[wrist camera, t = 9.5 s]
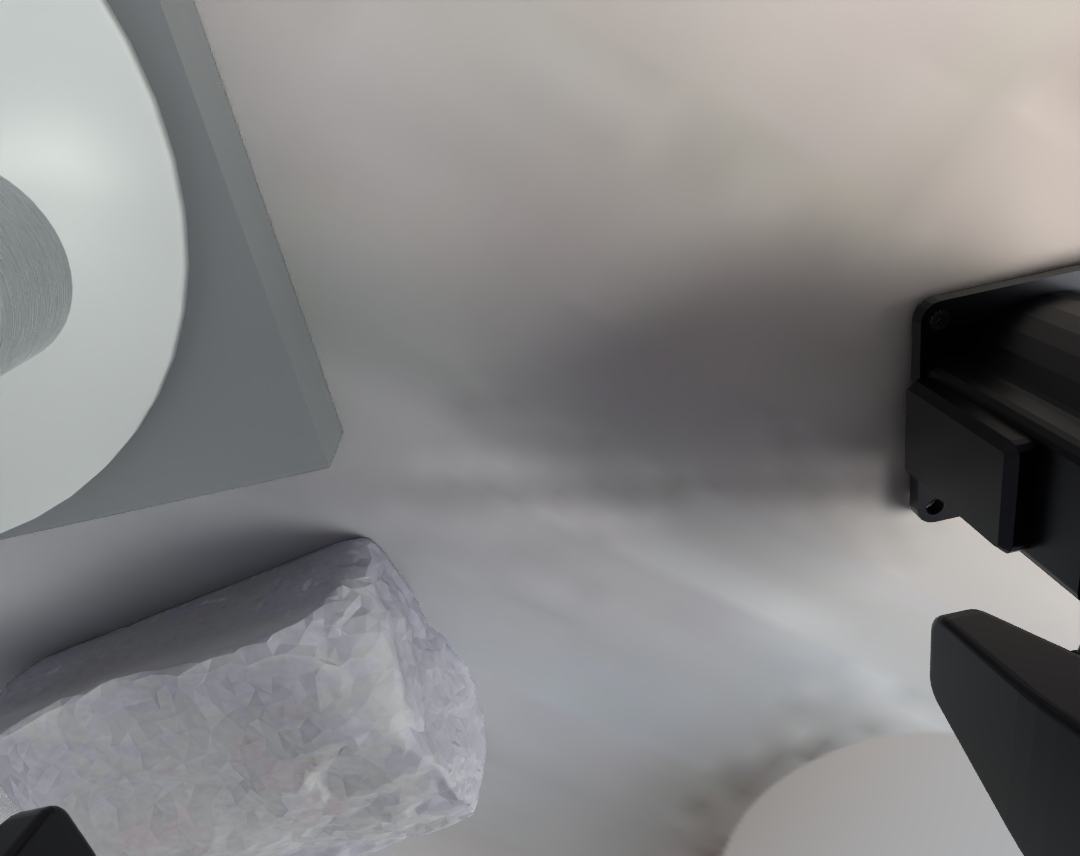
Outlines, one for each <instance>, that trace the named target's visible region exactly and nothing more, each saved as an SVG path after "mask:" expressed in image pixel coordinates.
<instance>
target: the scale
mask: <svg viewBox="0 0 1080 856" xmlns="http://www.w3.org/2000/svg"><path fill="white" fill-rule="evenodd" d="M0 176H2V177H4V178H5V179H7V180H8V181H10V182H11V183H12V184H13V185H15V186H16V187H17V188H19V189H20V190H21V191H22V192H23V193H24V194H25V195H26V196H28V197H29V198H30V199H31V200H32V201H33V202H34V203H35V204H36V206H37V207H38V208H39V209H40V210H41V211H42V213H43V214H44V215H45V216H46V218H47V219H48V221H49V222H50V224H51V225H52V226H53V228H54V229H55V231H56V233H57V235H58V237H59V239H60V241H61V242H62V245H63V247H64V250H65V252H66V255H67V258H68V262H69V265H70V269H71V275H72V284H73V291H72V303H71V309H70V312H69V315H68V318H67V321H66V323H65V325H64V327H63V329H62V331H61V332H60V334H59V335H58V336H57V338H56V339H55V340H54V341H53V342H52V343H51V344H50V345H49V346H48V347H47V348H46V349H45V350H43V351H42V352H40V353H39V354H37V355H36V356H34V357H33V358H31V359H29V360H27V361H26V362H24V363H22V364H21V365H19V366H17V367H15V368H14V369H12V370H10V371H9V372H7V373H5V374H3V375H2V376H0V540H1V539H5V538H10V537H14V536H19V535H23V534H28V533H33V532H37V531H42V530H46V529H51V528H55V527H60V526H65V525H69V524H74V523H78V522H83V521H87V520H92V519H97V518H101V517H106V516H110V515H115V514H119V513H124V512H129V511H133V510H138V509H142V508H147V507H152V506H156V505H161V504H165V503H170V502H174V501H179V500H184V499H188V498H193V497H197V496H202V495H206V494H211V493H216V492H220V491H225V490H229V489H234V488H238V487H243V486H248V485H252V484H257V483H261V482H266V481H270V480H275V479H280V478H284V477H289V476H293V475H298V474H302V473H307V472H312V471H316V470H321V469H325V468H329V467H330V465H331V462H332V460H333V457H334V455H335V452H336V449H337V447H338V444H339V442H340V439H341V437H342V434H343V430H342V427H341V424H340V421H339V418H338V415H337V413H336V410H335V407H334V404H333V401H332V398H331V395H330V392H329V390H328V387H327V384H326V381H325V378H324V375H323V372H322V369H321V366H320V364H319V361H318V358H317V355H316V352H315V349H314V346H313V343H312V340H311V338H310V335H309V332H308V329H307V326H306V323H305V320H304V317H303V315H302V312H301V309H300V306H299V303H298V300H297V297H296V294H295V291H294V289H293V286H292V283H291V280H290V277H289V274H288V271H287V268H286V265H285V263H284V260H283V257H282V254H281V251H280V248H279V245H278V242H277V239H276V237H275V234H274V231H273V228H272V225H271V222H270V219H269V216H268V214H267V211H266V208H265V205H264V202H263V199H262V196H261V193H260V190H259V188H258V185H257V182H256V179H255V176H254V173H253V170H252V167H251V164H250V162H249V159H248V156H247V153H246V150H245V147H244V144H243V141H242V139H241V136H240V133H239V130H238V127H237V124H236V121H235V118H234V115H233V113H232V110H231V107H230V104H229V101H228V98H227V95H226V92H225V89H224V87H223V84H222V81H221V78H220V75H219V72H218V69H217V66H216V64H215V61H214V58H213V55H212V52H211V49H210V46H209V43H208V40H207V38H206V35H205V32H204V29H203V26H202V23H201V20H200V17H199V14H198V12H197V9H196V6H195V3H194V0H0Z"/></svg>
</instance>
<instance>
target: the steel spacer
mask: <svg viewBox="0 0 1080 856" xmlns="http://www.w3.org/2000/svg"><path fill="white" fill-rule="evenodd" d="M72 291H73V284H72V275H71V269H70V265H69V262H68V258H67V255H66V252H65V250H64V247H63V245H62V242H61V241H60V239H59V237H58V235H57V233H56V231H55V229H54V228H53V226H52V225H51V224H50V222H49V221H48V219H47V218H46V216H45V215H44V214H43V213H42V211H41V210H40V209H39V208H38V207H37V206H36V204H35V203H34V202H33V201H32V200H31V199H30V198H29V197H28V196H26V195H25V194H24V193H23V192H22V191H21V190H20V189H19V188H17V187H16V186H15V185H13V184H12V183H11V182H10V181H8V180H7V179H5V178H4V177H2V176H0V376H2V375H3V374H5V373H7V372H9V371H10V370H12V369H14V368H15V367H17V366H19V365H21V364H22V363H24V362H26V361H27V360H29V359H31V358H33V357H34V356H36V355H37V354H39V353H40V352H42V351H43V350H45V349H46V348H47V347H48V346H49V345H50V344H51V343H52V342H53V341H54V340H55V339H56V338H57V336H58V335H59V334H60V332H61V331H62V329H63V327H64V325H65V323H66V321H67V318H68V315H69V312H70V309H71V303H72Z"/></svg>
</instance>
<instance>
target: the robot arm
mask: <svg viewBox="0 0 1080 856" xmlns="http://www.w3.org/2000/svg"><path fill="white" fill-rule="evenodd" d="M940 310H941V317H940V319H939V320H938V322H937V323H935V324H933V325H931V323H930V321H931V318H932V316H933V315H934V314H935V313H936V312H938V311H940ZM905 468H906V470H907V472H909V473H910V507H911V510H912V511H913V512H914V513H915V514H916V515H917V516H918V517H920V518H921V519H922V520H923V521H926V522H936V521H941V520H945V519H950V518H955V517H959V516H960V517H961V518H962V519H964V520H965V521H966V522H967V523H968V524H970V525H971V526H972V527H973V528H974V529H975V530H977V531H978V532H979V533H980V534H981V535H982V536H984V537H985V538H986V539H987V540H988V541H989V542H991V543H992V544H993V545H994V546H996V547H997V548H999V549H1000V550H1002V551H1003V552H1005V553H1012V552H1016V551H1020V552H1021V553H1023V554H1024V555H1025V556H1026V557H1028V558H1029V559H1030V560H1031V561H1032V562H1034V563H1035V564H1036V565H1037V566H1038V567H1040V568H1041V569H1042V570H1043V571H1044V572H1046V573H1047V574H1048V575H1049V576H1051V577H1052V578H1053V579H1054V580H1055V581H1057V582H1058V583H1059V584H1060V585H1061V586H1063V587H1064V588H1065V589H1066V590H1068V591H1069V592H1070V593H1071V594H1072V595H1074V596H1075V597H1076V598H1077V599H1078V600H1080V265H1075V266H1070V267H1066V268H1061V269H1057V270H1052V271H1048V272H1043V273H1038V274H1034V275H1029V276H1025V277H1020V278H1016V279H1011V280H1006V281H1002V282H997V283H993V284H988V285H984V286H979V287H974V288H970V289H965V290H961V291H956V292H952V293H947V294H942V295H938V296H933V297H930V298H928V299H925V300H924V301H922V302H921V303H920V304H919V305H918V306H917V308H916V309H915V311H914V313H913V318H912V363H911V382H910V384H909V386H908V388H907V390H906V437H905ZM934 499H935V502H934V503H933V504H932V505H931V506H929V507H927V504H928V503H929V502H930V501H932V500H934ZM926 507H927V508H926ZM930 681H931V687H932V690H933V693H934V696H935V698H936V700H937V702H938V704H939V706H940V708H941V710H942V712H943V713H944V715H945V717H946V719H947V721H948V722H949V724H950V726H951V728H952V730H953V731H954V733H955V735H956V737H957V739H958V740H959V742H960V743H961V745H962V748H963V749H964V751H965V753H966V755H967V756H968V758H969V760H970V762H971V763H972V765H973V767H974V769H975V771H976V772H977V775H978V776H979V778H980V780H981V782H982V783H983V785H984V787H985V789H986V791H987V792H988V794H989V796H990V798H991V800H992V801H993V803H994V805H995V807H996V809H997V810H998V812H999V814H1000V816H1001V818H1002V819H1003V821H1004V823H1005V825H1006V827H1007V828H1008V830H1009V831H1010V833H1011V835H1012V837H1013V838H1014V840H1015V842H1016V844H1017V845H1018V847H1019V849H1020V850H1021V852H1022V853H1023V855H1024V856H1080V646H1079V648H1078V650H1073V651H1069V650H1067V649H1065V648H1063V647H1060V646H1058V645H1056V644H1054V643H1052V642H1049V641H1047V640H1045V639H1043V638H1041V637H1038V636H1036V635H1034V634H1032V633H1030V632H1028V631H1025V630H1023V629H1021V628H1019V627H1017V626H1014V625H1012V624H1010V623H1008V622H1006V621H1003V620H1001V619H999V618H997V617H995V616H992V615H990V614H988V613H986V612H983V611H980V610H976V609H969V610H964V611H960V612H955V613H950V614H945V615H941V616H939V617H937V618H936V619H935V620H934V622H933V624H932V629H931V656H930ZM0 856H96V854H95V852H94V851H93V849H92V848H91V846H90V845H89V843H88V842H87V840H86V839H85V837H84V836H83V834H82V833H81V832H80V830H79V829H78V827H77V826H76V824H75V823H74V821H73V820H72V818H71V817H70V816H69V814H68V813H67V812H66V811H65V810H64V809H63V808H61V807H59V806H46V807H42V808H37V809H32V810H28V811H23V812H20V813H17V814H15V815H13V816H11V817H9V818H8V819H7V820H6V821H4V822H3V823H2V824H1V825H0Z"/></svg>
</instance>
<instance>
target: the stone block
mask: <svg viewBox="0 0 1080 856" xmlns="http://www.w3.org/2000/svg"><path fill="white" fill-rule="evenodd" d="M484 725H485V723H484V719H483V712H482V710H481V708H480V706H479V704H478V700H477V696H476V692H475V684H474V680H473V679H472V677H471V674H470V670H469V668H468V666H467V665H465V664H464V663H463V662H462V661H461V659H460V658H459V657H458V656H457V655H456V654H455V653H454V652H453V651H452V649H451V648H450V647H449V646H448V645H447V643H446V639H445V638H444V637H443V636H442V635H441V634H439V633H438V632H436V631H435V630H434V629H432V628H431V627H430V626H429V624H428V623H427V621H426V619H425V617H424V615H423V614H422V613H421V611H420V608H419V604H418V601H417V600H416V599H415V597H414V594H413V592H412V590H411V588H410V587H409V586H408V585H407V583H406V582H405V580H404V579H403V577H402V576H401V575H400V573H399V572H398V571H397V569H396V568H395V567H394V566H393V564H392V563H391V562H390V560H389V558H388V556H387V554H386V553H385V552H384V551H383V550H382V549H381V548H380V547H379V546H378V545H377V544H376V543H375V542H374V541H373V540H371V539H367V538H358V539H353V540H347V541H342V542H338V543H336V544H332V545H330V546H327V547H325V548H322V549H320V550H317V551H315V552H312V553H310V554H307V555H305V556H302V557H300V558H297V559H294V560H292V561H290V562H287V563H284V564H282V565H279V566H277V567H275V568H272V569H270V570H267V571H265V572H262V573H260V574H257V575H255V576H252V577H250V578H247V579H245V580H242V581H239V582H236V583H234V584H232V585H229V586H227V587H225V588H222V589H220V590H217V591H214V592H212V593H209V594H206V595H204V596H201V597H199V598H197V599H194V600H192V601H189V602H187V603H184V604H182V605H179V606H176V607H173V608H170V609H167V610H165V611H162V612H160V613H158V614H155V615H153V616H151V617H148V618H146V619H144V620H141V621H139V622H137V623H134V624H132V625H130V626H128V627H124V628H119V629H117V630H114V631H112V632H109V633H107V634H104V635H102V636H99V637H97V638H94V639H92V640H89V641H87V642H84V643H81V644H78V645H74V646H72V647H70V648H68V649H67V650H64V651H62V652H59V653H56V654H54V655H51V656H48V657H46V658H44V659H42V660H41V661H39V662H37V663H35V664H34V665H33V666H31V667H30V668H28V669H27V670H26V671H24V672H23V673H22V674H20V675H19V676H17V677H16V678H15V679H13V680H12V681H11V682H9V683H8V684H7V686H6V687H5V689H4V690H3V691H2V693H1V694H0V785H1V787H2V788H3V790H4V792H5V793H6V794H7V796H8V797H9V798H10V800H11V801H12V802H13V803H14V804H15V805H16V806H18V807H19V808H20V809H21V810H22V811H28V810H32V809H37V808H42V807H46V806H59V807H61V808H63V809H64V810H65V811H66V812H67V813H68V814H69V816H70V817H71V818H72V820H73V821H74V823H75V824H76V826H77V827H78V829H79V830H80V832H81V833H82V834H83V836H84V837H85V839H86V840H87V842H88V843H89V845H90V846H91V848H92V849H93V851H94V852H95V854H96V856H355V855H361V854H364V853H367V852H374V851H378V850H380V849H383V848H385V847H387V846H390V845H392V844H395V843H397V842H400V841H402V840H403V839H405V838H406V837H407V836H418V835H425V834H429V833H432V832H435V831H438V830H441V829H443V828H446V827H448V826H451V825H453V824H455V823H457V822H459V821H461V820H465V819H468V818H469V817H470V816H471V815H474V810H475V807H476V805H477V801H478V796H479V788H480V785H481V782H482V778H483V767H484V763H485V757H486V739H485V732H484Z"/></svg>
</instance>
